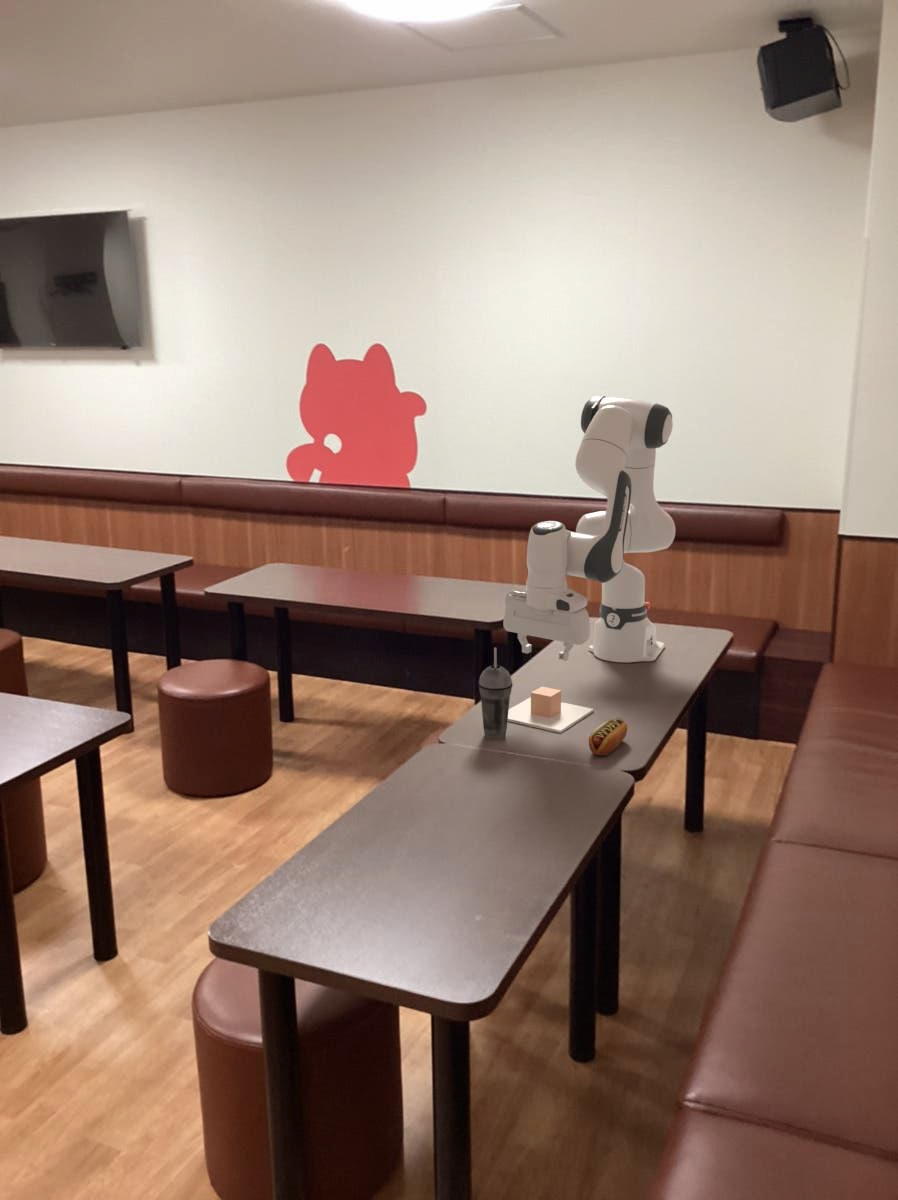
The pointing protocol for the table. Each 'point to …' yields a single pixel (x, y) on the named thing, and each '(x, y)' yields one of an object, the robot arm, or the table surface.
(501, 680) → the beverage cup
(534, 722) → the mat
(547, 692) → the cube
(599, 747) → the hot dog
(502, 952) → the table surface
